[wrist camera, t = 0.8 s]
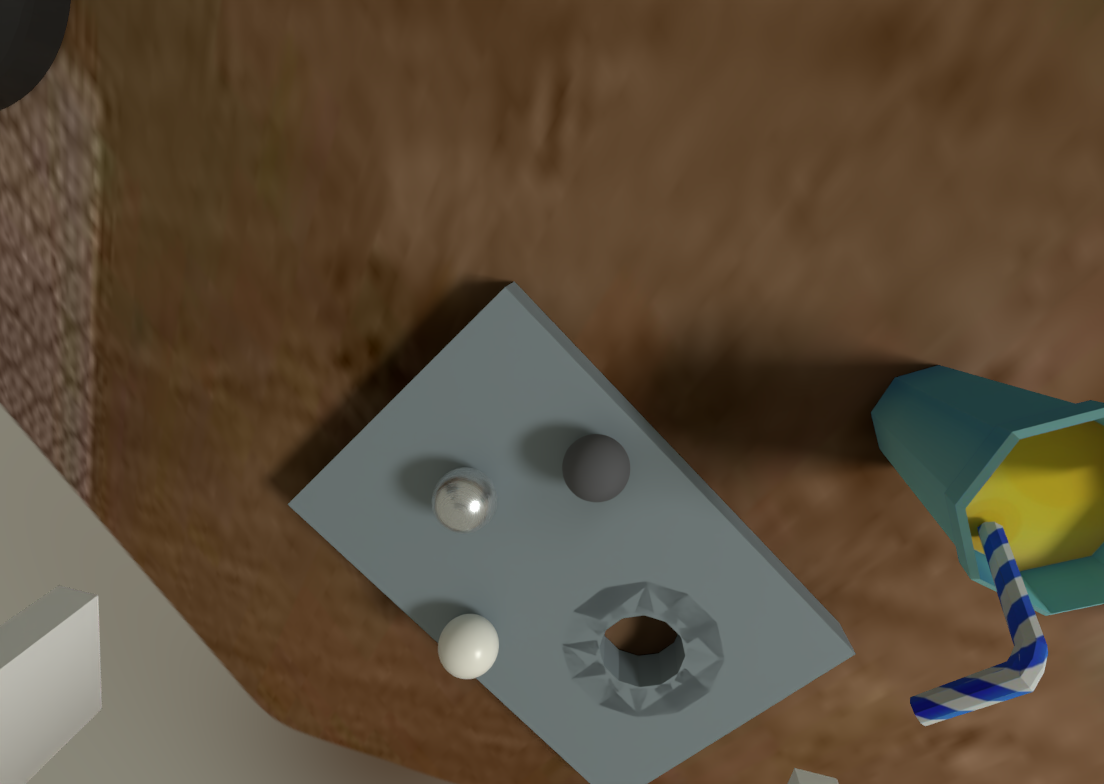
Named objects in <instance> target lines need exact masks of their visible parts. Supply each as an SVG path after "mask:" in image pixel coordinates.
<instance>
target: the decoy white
mask: <svg viewBox="0 0 1104 784" xmlns="http://www.w3.org/2000/svg"><path fill="white" fill-rule="evenodd" d="M498 650H499V639H498V635H497V632H496V630H495V628H494V626H493V625H492V624H491V623H490V622H489V621H488V620H487V619H486V618H484V617H482V616H480V615H477V614H463V615H460V616H458V617H456V618H454V619H453V620H451V621H450V622H449V623H448V624H447V625H446V626H445V628H444V629H443V631H442V633H441V635H440V638H439V642H438V654H439V658H440V661H441V663H442V665H443V667H444V668H445V669H446V670H447V671H448V672H449V673H450V674H452V675H453V676H455V677H457V678H461V679H473V678H476V677H479V676H481V675H483V674H484V673H486V672H487V671H488V670H489V669H490V668H491V666H492V665H493V663H494V662H495V660H496V657H497V655H498Z"/></svg>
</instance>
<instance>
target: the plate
mask: <svg viewBox="0 0 1104 784" xmlns="http://www.w3.org/2000/svg"><path fill="white" fill-rule="evenodd" d="M590 434H602V435H606V436H609V437H611V438H613V439H615V440H616V441H617V442H619V443H620V444H621V445H622V447H623V448H624V449H625V451H626V453H627V455H628V457H629V461H630V476H629V480H628V482H627V484H626V486H625V488H624V489H623V490H622V492H620V493H619V494H618V495H617V496H616V497H614V498H612V499H611V500H608V501H604V502H589V501H585V500H583V499H581V498H579V497H577V496H576V495H575V494H573V493H572V492H571V490H570V489H569V488H568V486H567V485H566V483H565V480H564V477H563V473H562V463H563V458H564V456H565V453H566V451H567V449H568V448H569V447H570V445H571V444H572V443H574V442H575V441H576V440H577V439H579V438H581V437H583V436H586V435H590ZM463 467H468V468H473V469H477V470H479V471H481V472H483V473H484V474H485V475H487V476H488V477H489V478H490V480H491V481H492V482H493V484H494V486H495V489H496V492H497V508H496V511H495V514H494V515H493V517H492V519H491V520H490V521H489V523H488V524H487V525H485V526H484V527H483V528H481V529H480V530H478V531H475V532H472V533H466V534H461V533H455V532H452V531H450V530H448V529H446V528H445V527H443V526H442V525H441V524H440V523H439V521H438V520H437V519H436V517H435V515H434V512H433V509H432V494H433V490H434V488H435V486H436V484H437V482H438V481H439V480H440V479H441V478H442V476H444V475H445V474H446V473H448V472H450V471H451V470H454V469H457V468H463ZM288 505H289V506H290V507H291V508H292V509H293V510H294V511H295V512H296V513H298V514H299V515H300V516H301V517H302V518H303V519H304V520H305V521H306V522H307V523H308V524H309V525H311V526H312V527H313V528H314V529H315V530H316V531H317V532H318V533H319V534H320V535H321V536H322V537H324V538H325V539H326V540H327V541H328V542H329V543H330V544H331V545H332V546H333V547H334V548H336V549H337V550H338V551H339V552H340V553H341V554H342V555H343V556H344V557H345V558H346V559H347V560H349V561H350V562H351V563H352V564H353V565H354V566H355V567H356V568H357V569H358V570H359V571H360V572H362V573H363V574H364V575H365V576H366V577H367V578H368V579H369V580H370V581H371V582H372V583H373V584H375V585H376V586H377V587H378V588H379V589H380V590H381V591H382V592H383V593H384V594H385V595H386V596H388V597H389V598H390V599H391V600H392V601H393V602H394V603H395V604H396V605H397V606H398V607H399V608H401V609H402V610H403V611H404V612H405V613H406V614H407V615H408V616H409V617H410V618H411V619H412V620H414V621H415V622H416V623H417V624H418V625H419V626H420V627H421V628H422V629H423V630H424V631H425V632H427V633H428V634H429V635H430V636H431V637H432V638H433V639H434V640H435V641H436V642H437V643H438V642H439V638H440V635H441V633H442V631H443V629H444V628H445V626H446V625H447V624H448V623H449V622H450V621H451V620H453V619H454V618H456V617H458V616H460V615H463V614H477V615H480V616H482V617H484V618H486V619H487V620H488V621H489V622H490V623H491V624H492V625H493V626H494V628H495V630H496V632H497V635H498V639H499V650H498V655H497V657H496V660H495V662H494V663H493V665H492V666H491V668H490V669H489V670H488V671H487V672H486V673H484V674H483V675H481V676H479V677H476V679H478V680H479V681H480V682H481V683H482V684H483V685H484V686H485V687H486V688H487V689H488V690H489V691H491V692H492V693H493V694H494V695H495V696H496V697H497V698H498V699H499V700H500V701H501V702H502V703H504V704H505V705H506V706H507V707H508V708H509V709H510V710H511V711H512V712H513V713H514V714H515V715H517V716H518V717H519V718H520V719H521V720H522V721H523V722H524V723H525V724H526V725H527V726H528V727H530V728H531V729H532V730H533V731H534V732H535V733H536V734H537V735H538V736H539V737H540V738H541V739H543V740H544V741H545V742H546V743H547V744H548V745H549V746H550V747H551V748H552V749H553V750H554V751H556V752H557V753H558V754H559V755H560V756H561V757H562V758H563V759H564V760H565V761H566V762H567V763H569V764H570V765H571V766H572V767H573V768H574V769H575V770H576V771H577V772H578V773H579V774H581V775H582V776H583V777H584V778H585V779H586V780H587V781H588V782H589V783H590V784H647V783H649V782H651V781H652V780H654V779H655V778H657V777H659V776H660V775H662V774H663V773H665V772H667V771H668V770H670V769H671V768H673V767H675V766H676V765H678V764H680V763H681V762H683V761H684V760H686V759H688V758H689V757H691V756H692V755H694V754H696V753H697V752H699V751H700V750H702V749H704V748H705V747H707V746H708V745H710V744H712V743H713V742H715V741H716V740H718V739H720V738H721V737H723V736H725V735H726V734H728V733H729V732H731V731H733V730H734V729H736V728H737V727H739V726H741V725H742V724H744V723H745V722H747V721H749V720H750V719H752V718H753V717H755V716H757V715H758V714H760V713H762V712H763V711H765V710H766V709H768V708H770V707H771V706H773V705H774V704H776V703H778V702H779V701H781V700H782V699H784V698H786V697H787V696H789V695H790V694H792V693H794V692H795V691H797V690H798V689H800V688H802V687H803V686H805V685H807V684H808V683H810V682H811V681H813V680H815V679H816V678H818V677H819V676H821V675H823V674H824V673H826V672H827V671H829V670H831V669H832V668H834V667H835V666H837V665H839V664H840V663H842V662H844V661H845V660H847V659H848V658H850V657H852V656H853V655H855V654H856V653H855V652H854V650H853V648H852V646H851V644H850V642H849V640H848V639H847V637H846V635H845V633H844V631H843V629H842V627H841V625H840V624H839V622H838V621H837V620H836V619H835V618H834V617H833V616H832V615H831V614H830V613H829V612H828V611H827V610H826V609H825V608H824V607H823V605H822V604H821V603H820V602H819V601H818V600H817V599H816V598H815V597H814V596H813V595H812V594H811V593H810V592H809V591H808V590H807V589H806V588H805V587H804V585H803V584H802V583H801V582H800V581H799V580H798V579H797V578H796V577H795V576H794V575H793V574H792V573H791V572H790V571H789V570H788V569H787V568H786V567H785V566H784V564H783V563H782V562H781V561H780V560H779V559H778V558H777V557H776V556H775V555H774V554H773V553H772V552H771V551H770V550H769V549H768V548H767V547H766V546H765V545H764V543H763V542H762V541H761V540H760V539H759V538H758V537H757V536H756V535H755V534H754V533H753V532H752V531H751V530H750V529H749V528H748V527H747V526H746V525H745V523H744V522H743V521H742V520H741V519H740V518H739V517H738V516H737V515H736V514H735V513H734V512H733V511H732V510H731V509H730V508H729V507H728V506H727V505H726V504H725V502H724V501H723V500H722V499H721V498H720V497H719V496H718V495H717V494H716V493H715V492H714V491H713V490H712V489H711V488H710V487H709V486H708V485H707V484H706V483H705V481H704V480H703V479H702V478H701V477H700V476H699V475H698V474H697V473H696V472H695V471H694V470H693V469H692V468H691V467H690V466H689V465H688V464H687V463H686V461H685V460H684V459H683V458H682V457H681V456H680V455H679V454H678V453H677V452H676V451H675V450H674V449H673V448H672V447H671V446H670V445H669V444H668V443H667V442H666V440H665V439H664V438H663V437H662V436H661V435H660V434H659V433H658V432H657V431H656V430H655V429H654V428H653V427H652V426H651V425H650V424H649V423H648V422H647V421H646V419H645V418H644V417H643V416H642V415H641V414H640V413H639V412H638V411H637V410H636V409H635V408H634V407H633V406H632V405H631V404H630V403H629V402H628V401H627V399H626V398H625V397H624V396H623V395H622V394H621V393H620V392H619V391H618V390H617V389H616V388H615V387H614V386H613V385H612V384H611V383H610V382H609V381H608V380H607V378H606V377H605V376H604V375H603V374H602V373H601V372H600V371H599V370H598V369H597V368H596V367H595V366H594V365H593V364H592V363H591V362H590V361H589V360H588V359H587V357H586V356H585V355H584V354H583V353H582V352H581V351H580V350H579V349H578V348H577V347H576V346H575V345H574V344H573V343H572V342H571V341H570V340H569V339H568V337H567V336H566V335H565V334H564V333H563V332H562V331H561V330H560V329H559V328H558V327H557V326H556V325H555V324H554V323H553V322H552V321H551V320H550V319H549V318H548V316H547V315H546V314H545V313H544V312H543V311H542V310H541V309H540V308H539V307H538V306H537V305H536V304H535V303H534V302H533V301H532V300H531V299H530V298H529V297H528V295H527V294H526V293H525V292H524V291H523V290H522V289H521V288H520V287H519V286H518V285H517V284H516V283H515V282H513V283H511V284H509V285H508V286H506V287H505V288H504V289H503V290H502V291H501V292H500V293H499V294H498V295H497V296H496V297H495V298H494V299H493V300H492V301H491V302H490V303H489V304H488V305H487V306H486V307H485V308H484V309H483V310H482V311H481V312H480V313H479V314H478V315H477V316H476V317H475V318H474V319H473V320H472V321H471V322H470V323H469V324H468V325H467V326H466V327H465V328H464V329H463V330H462V331H461V332H460V333H459V334H458V335H457V336H456V337H455V338H454V339H453V340H452V341H451V342H450V343H449V344H448V345H447V346H446V347H445V348H444V349H443V350H442V351H441V352H440V353H439V354H438V355H437V356H436V357H435V358H434V359H433V360H432V361H431V362H430V363H429V364H428V365H427V366H426V367H425V368H424V369H423V370H422V371H421V372H420V373H419V374H418V375H417V376H416V377H415V378H414V379H413V380H412V381H411V382H410V383H409V384H408V385H407V386H406V387H405V388H404V389H403V390H402V391H401V392H400V393H399V394H398V395H397V396H396V397H395V398H394V399H393V400H392V401H391V402H390V403H389V404H388V405H387V406H386V407H385V408H384V409H383V410H382V411H381V412H380V413H379V414H378V415H377V416H376V417H375V418H374V419H373V420H372V421H371V422H370V423H369V424H368V425H367V426H366V427H365V428H364V429H363V430H362V431H361V432H360V433H359V434H358V435H357V436H356V437H355V438H354V439H353V440H352V441H351V442H350V443H349V444H348V445H347V446H346V447H345V448H344V449H343V450H342V451H341V452H340V453H339V454H338V455H337V456H336V457H335V458H334V459H333V460H332V461H331V462H330V463H329V464H328V465H327V466H326V467H325V468H324V469H323V470H322V471H321V472H320V473H319V474H318V475H317V476H316V477H315V478H314V479H313V480H312V481H311V482H310V483H309V484H308V485H307V486H306V487H305V488H304V489H303V490H302V491H301V492H300V493H299V494H298V495H297V496H296V497H295V498H294V499H293V500H292V501H291V502H290V503H289V504H288ZM642 615H645V616H648V617H652V618H655V619H658V620H661V621H664V622H667V623H668V624H669V625H670V626H671V627H672V628H673V629H674V630H675V631H676V632H677V633H678V634H677V637H676V639H675V642H674V643H673V644H671V645H670V646H668V647H667V648H665V649H664V650H662V651H661V652H660V653H657V654H649V655H642V656H637V655H634V654H631V653H627V652H624V651H621V650H619V649H618V648H617V647H615V646H614V645H613V644H612V643H611V642H610V641H609V640H608V639H607V638H606V637H605V634H604V633H605V630H607V629H608V628H610V627H611V626H612V625H614V624H615V623H616V622H618V621H619V620H621V619H622V618H628V617H635V616H642Z"/></svg>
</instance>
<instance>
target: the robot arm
mask: <svg viewBox="0 0 1104 784" xmlns="http://www.w3.org/2000/svg"><path fill="white" fill-rule="evenodd" d="M70 2H71V0H0V110H1V109H3V108H6V107H8V106H10V105H12V104H13V103H15V102H17V101H18V100H20V99H21V98H23V97H24V96H25V95H26V94H28V93H29V92H30V91H31V90H32V89H33V88H34V87H35V86H36V85H37V84H38V83H39V82H40V80H41V79H42V78H43V77H44V75H45V74H46V72H47V71H48V69H49V68H50V66H51V64H52V63H53V61H54V59H55V57H56V55H57V52H58V50H59V48H60V45H61V43H62V40H63V37H64V33H65V30H66V26H67V21H68V16H69V10H70ZM98 605H99V604H98V595H97V594H92V593H88V592H84V591H80V590H76V589H72V588H68V587H64V586H60V585H59V586H57V587H56V588H54V589H53V590H51V591H50V592H48V593H47V594H45V595H44V596H43V597H41V598H40V599H38V600H37V601H35V602H34V603H32V604H31V605H29V606H28V607H27V608H25V609H24V610H22V611H21V612H19V613H18V614H16V615H15V616H13V617H12V618H11V619H9V620H8V621H6V622H5V623H3V624H2V625H1V626H0V784H26V783H27V782H28V781H29V780H30V779H31V778H32V777H33V776H34V775H35V774H36V773H37V772H38V771H39V770H40V769H41V768H42V767H43V766H44V765H45V764H46V763H47V762H48V761H49V760H50V759H51V758H52V757H53V756H54V755H55V754H56V753H57V752H58V751H59V750H60V749H61V748H62V747H63V746H64V745H65V744H66V743H67V742H68V741H69V740H70V739H71V738H72V737H73V736H74V735H75V734H76V733H78V731H80V730H81V728H83V726H85V725H86V724H87V723H88V722H89V721H90V720H91V719H92V718H93V717H94V716H95V715H96V714H97V713H98V712H99V711H100V710H101V709H102V697H101V667H100V636H99V606H98ZM788 784H839V783H838V781H837V779H836V778H832V777H828V776H824V775H820V774H816V773H812V772H808V771H804V770H800V769H796V768H794V771H793V773H792V775H791V777H790V779H789V782H788Z"/></svg>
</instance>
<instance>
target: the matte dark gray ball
mask: <svg viewBox="0 0 1104 784" xmlns="http://www.w3.org/2000/svg"><path fill="white" fill-rule="evenodd" d="M562 473H563V477H564V480H565V483H566V485H567V486H568V488H569V489H570V490H571V492H572V493H573V494H575V495H576V496H577V497H579V498H581V499H583V500H585V501H589V502H604V501H608V500H611V499H612V498H614V497H616V496H617V495H618V494H619V493H620V492H622V490H623V489H624V488H625V486H626V484H627V482H628V480H629V476H630V461H629V457H628V455H627V453H626V451H625V449H624V448H623V447H622V445H621V444H620V443H619V442H617V441H616V440H615V439H613V438H611V437H609V436H606V435H602V434H590V435H586V436H583V437H581V438H579V439H577V440H576V441H575V442H574V443H572V444H571V445H570V447H569V448H568V449H567V451H566V453H565V456H564V458H563V463H562Z"/></svg>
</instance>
